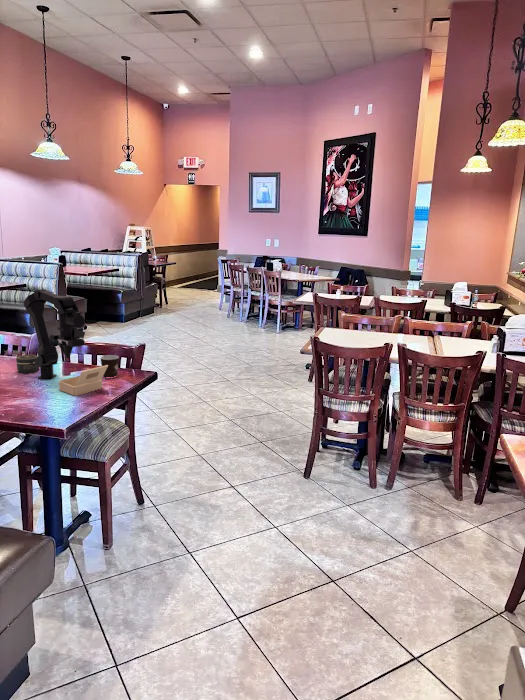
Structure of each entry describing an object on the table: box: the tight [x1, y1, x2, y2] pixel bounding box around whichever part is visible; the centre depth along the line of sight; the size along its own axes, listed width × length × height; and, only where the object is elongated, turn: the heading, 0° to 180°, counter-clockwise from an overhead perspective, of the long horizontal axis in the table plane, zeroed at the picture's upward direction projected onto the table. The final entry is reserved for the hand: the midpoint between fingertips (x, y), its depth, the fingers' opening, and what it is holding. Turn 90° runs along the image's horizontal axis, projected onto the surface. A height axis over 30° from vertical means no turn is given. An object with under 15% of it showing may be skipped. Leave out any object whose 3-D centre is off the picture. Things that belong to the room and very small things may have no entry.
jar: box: [15, 354, 40, 375], centre depth 248 cm, size 10×10×8 cm
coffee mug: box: [100, 354, 120, 378], centre depth 246 cm, size 12×9×10 cm
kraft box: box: [58, 375, 104, 397], centre depth 226 cm, size 12×15×4 cm
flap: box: [76, 365, 108, 386], centre depth 219 cm, size 1×13×9 cm
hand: (67, 358), depth 228 cm, fingers closed
